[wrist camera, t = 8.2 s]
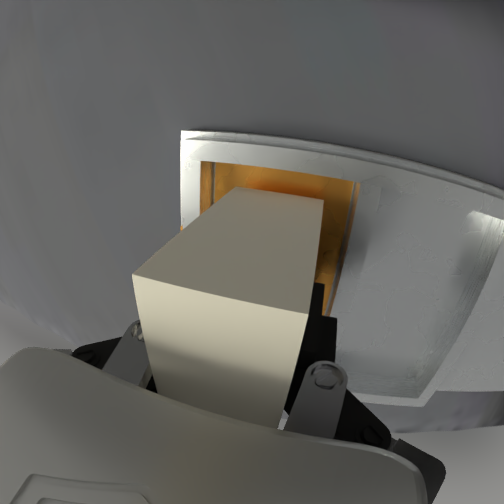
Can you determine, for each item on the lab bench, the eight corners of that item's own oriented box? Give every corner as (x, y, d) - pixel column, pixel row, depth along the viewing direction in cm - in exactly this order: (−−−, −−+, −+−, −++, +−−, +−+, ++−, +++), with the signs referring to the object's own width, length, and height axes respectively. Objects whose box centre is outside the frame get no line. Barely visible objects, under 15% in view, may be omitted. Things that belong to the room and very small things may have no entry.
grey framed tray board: (592, 231, 8) (612, 247, 6) (512, 382, 14) (520, 405, 12) (189, 129, 13) (162, 134, 11) (193, 338, 19) (178, 363, 17)
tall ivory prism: (323, 200, 11) (308, 314, 5) (291, 363, 15) (260, 479, 9) (235, 186, 12) (131, 274, 6) (228, 348, 16) (178, 455, 10)
